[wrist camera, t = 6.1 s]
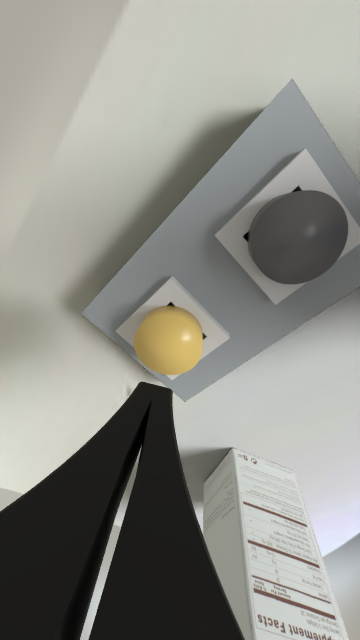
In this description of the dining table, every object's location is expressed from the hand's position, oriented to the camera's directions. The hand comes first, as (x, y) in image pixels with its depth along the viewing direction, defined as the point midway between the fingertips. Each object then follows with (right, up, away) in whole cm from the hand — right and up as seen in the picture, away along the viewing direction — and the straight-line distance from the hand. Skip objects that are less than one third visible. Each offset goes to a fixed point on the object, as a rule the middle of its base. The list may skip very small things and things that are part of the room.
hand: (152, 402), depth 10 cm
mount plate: (+4, +7, +7) cm, 10 cm away
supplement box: (+9, -14, +16) cm, 23 cm away
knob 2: (+7, +9, +5) cm, 13 cm away
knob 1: (+1, +4, +8) cm, 9 cm away
